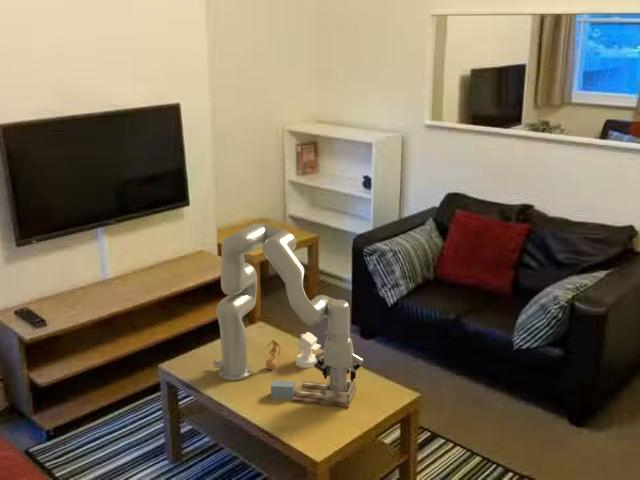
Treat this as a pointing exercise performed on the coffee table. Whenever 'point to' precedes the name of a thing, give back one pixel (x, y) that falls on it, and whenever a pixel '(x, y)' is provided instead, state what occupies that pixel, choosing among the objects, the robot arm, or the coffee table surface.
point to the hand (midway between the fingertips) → (339, 378)
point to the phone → (328, 367)
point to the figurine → (271, 362)
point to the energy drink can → (338, 378)
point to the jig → (324, 394)
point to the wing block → (283, 389)
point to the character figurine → (307, 351)
